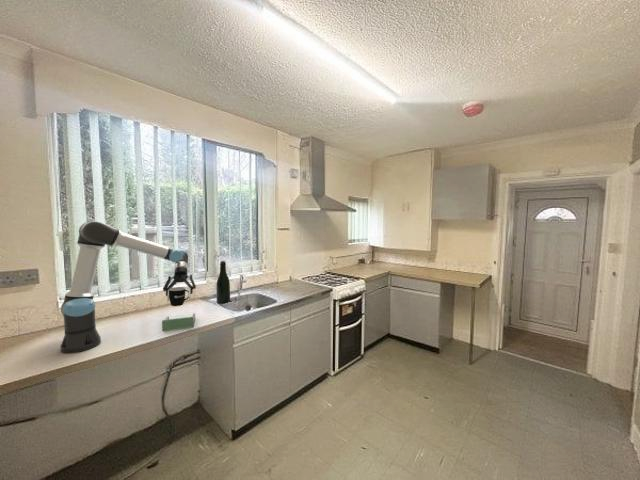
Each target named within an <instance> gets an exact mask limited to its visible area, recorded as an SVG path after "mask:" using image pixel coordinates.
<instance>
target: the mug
mask: <svg viewBox="0 0 640 480" xmlns="http://www.w3.org/2000/svg"><path fill="white" fill-rule="evenodd" d="M186 293H188V294H189V289H186V287H185V286H175V287H174V286H173V287H172V288H170V289H169V303H170V306H172V307H180V306H183V305H184V303H185V301H186V300H189V295H188V296H187V297H186Z"/></svg>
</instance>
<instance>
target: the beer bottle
mask: <svg viewBox="0 0 640 480" xmlns="http://www.w3.org/2000/svg"><path fill="white" fill-rule="evenodd" d="M226 266H227V263H226V261H225V260H220V262H219V275H218V277H217V279H216V290H215V291H216V293H215V295H216V303H218V304H226V303H229V302H230V301H231V283H230V278H229V276H228V273H227V267H226Z"/></svg>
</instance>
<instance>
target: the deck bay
mask: <svg viewBox="0 0 640 480" xmlns="http://www.w3.org/2000/svg"><path fill="white" fill-rule="evenodd" d="M195 320H196V313H192V316H187V317H186V316H185V317H179V318H170V316H169V315H168V316H166V317H165V319H162V320H161V331H162V332H166V331H174V330H182V329H183V330H184V329H190V328H194V326H195Z"/></svg>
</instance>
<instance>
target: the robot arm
mask: <svg viewBox="0 0 640 480" xmlns="http://www.w3.org/2000/svg"><path fill="white" fill-rule="evenodd" d="M76 244H77V245H78V246H79V250H78V255H77V259H76V264H75V268H74V273H73V277H72V281H71V285H70V290H69V291H68V292H66V293H65V294H64V298H63V303H62V304H61V306H60V312H61V314H62V317H63V326H64V327H63V329H64V336H63V337H62V338H63V339H62V342H61V344H60V352H61V353H63V354H73V353H74V354H75V353H80V352H85V351H87V350H91V349H93V348H95V347H97V346H99V345H100V344H101V342H102V341H101V340H102V339H101V336H100V333H99V332H98V330H97V327H96V325H97V324H96V304H95V300H94V298H95V297H94V296H95V294H94V293H93V291H92V289H93V284H94V281H95V277H96V271H97V267H98V262H99V258H100V253H101V250H102V249H103V248H105V246H106V245H107V246H111V247H113V246H118V247H121V248H124V249H129V250H131V251H135V252H139V253H142V254H146V255H149V256H152V257H156V258H159V259H162V260H167V261H168V262H169V261H170V262H173V263H174V264H175V265H174V274H173V276H170V275H169V276H168V277H167V281H166V282H165V284H164V285H163V287H162V290H163V292H165V296H166V300H167V302H170V299H169V289H170V288H174V286H175V285H176V284H179V283H184V284H185V285H186V286H187V287H188V291H189V293H188V296H189V298H188V300H191V295H192V294H193V291H194V290H195V289H196V288H197V286H196V283H195V281H194V279H193V275H192V274H190V275H188V270H189V269H188V266H189V252H188V250H187V249H182V248H181V249H175V248H172V247H168V246H167V245H166V246H165V245H162V244H159V243H156V242H153V241H150V240H147V239H143V238H140V237H137V236H134V235H131V234H128V233H126V232H122V230H121V229H119V228H115V227H114V226H112V225H109V224H107V223H104V222H102V221H98V220H90V221H86V222H84V223H83V224H81V225H80V226H79V229H78V238H77V242H76ZM187 279H189V281H190V282H189V281H188V280H187ZM172 280H173V281H172Z"/></svg>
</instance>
